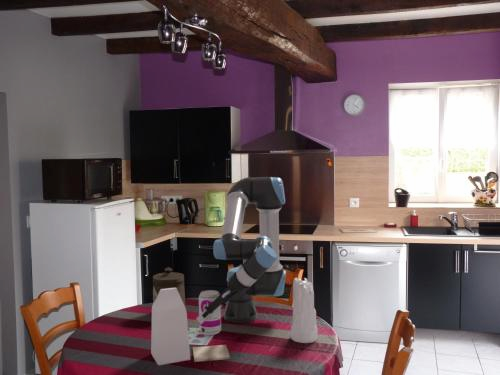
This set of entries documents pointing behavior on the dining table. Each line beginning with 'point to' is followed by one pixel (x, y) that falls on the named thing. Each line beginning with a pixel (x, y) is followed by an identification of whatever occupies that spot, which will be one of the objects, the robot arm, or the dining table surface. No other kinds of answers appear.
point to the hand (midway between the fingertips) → (204, 317)
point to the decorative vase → (303, 313)
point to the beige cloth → (210, 353)
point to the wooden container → (168, 283)
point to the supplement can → (214, 320)
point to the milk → (169, 328)
